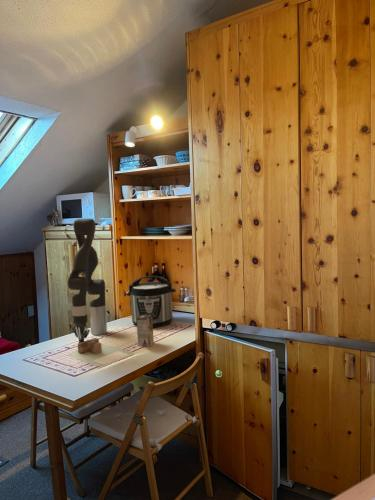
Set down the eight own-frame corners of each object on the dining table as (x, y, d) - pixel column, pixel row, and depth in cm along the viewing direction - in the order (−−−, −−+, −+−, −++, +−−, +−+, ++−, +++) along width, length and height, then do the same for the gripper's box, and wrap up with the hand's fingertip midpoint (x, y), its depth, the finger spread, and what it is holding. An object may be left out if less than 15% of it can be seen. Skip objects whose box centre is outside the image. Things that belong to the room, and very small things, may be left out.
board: (66, 357, 195) (66, 355, 195) (101, 345, 211) (101, 343, 211) (99, 368, 177) (98, 366, 177) (134, 354, 194) (134, 352, 194)
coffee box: (143, 342, 214) (141, 314, 213) (153, 342, 213) (152, 314, 211) (137, 347, 205) (136, 318, 204) (149, 348, 204) (147, 318, 202)
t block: (78, 352, 197) (77, 343, 197) (95, 347, 206) (95, 337, 205) (89, 356, 191) (89, 347, 190) (107, 350, 199) (107, 341, 199)
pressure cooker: (120, 326, 249) (118, 278, 246) (145, 316, 273) (143, 272, 271) (158, 331, 234) (156, 280, 231) (182, 320, 258) (180, 273, 256)
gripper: (66, 313, 204) (68, 345, 205) (81, 316, 196) (83, 349, 197) (78, 310, 210) (80, 341, 211) (93, 313, 201) (95, 345, 203)
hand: (81, 345), depth 204 cm, fingers closed
